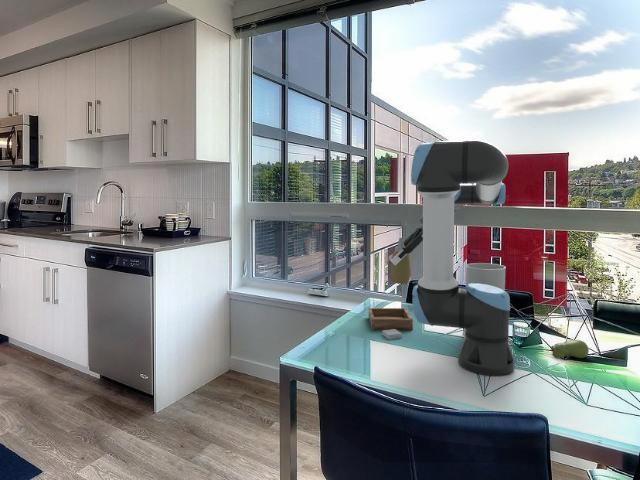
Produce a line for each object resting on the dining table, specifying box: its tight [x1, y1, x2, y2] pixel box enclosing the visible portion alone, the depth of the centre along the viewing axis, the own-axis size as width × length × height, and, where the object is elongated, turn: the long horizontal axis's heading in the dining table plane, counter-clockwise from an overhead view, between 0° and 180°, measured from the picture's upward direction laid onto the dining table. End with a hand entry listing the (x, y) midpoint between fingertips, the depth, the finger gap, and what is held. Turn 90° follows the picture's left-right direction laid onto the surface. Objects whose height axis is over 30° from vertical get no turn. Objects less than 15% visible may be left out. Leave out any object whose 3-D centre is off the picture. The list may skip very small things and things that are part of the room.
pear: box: [550, 339, 590, 359], centre depth 123 cm, size 6×5×10 cm
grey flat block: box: [381, 329, 403, 340], centre depth 143 cm, size 5×5×2 cm
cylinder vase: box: [465, 262, 507, 291], centre depth 140 cm, size 12×12×25 cm
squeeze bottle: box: [390, 237, 412, 285], centre depth 159 cm, size 8×8×18 cm
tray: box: [368, 307, 414, 331], centre depth 156 cm, size 15×15×4 cm
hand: (391, 261), depth 160 cm, fingers closed on squeeze bottle, 6 cm apart
